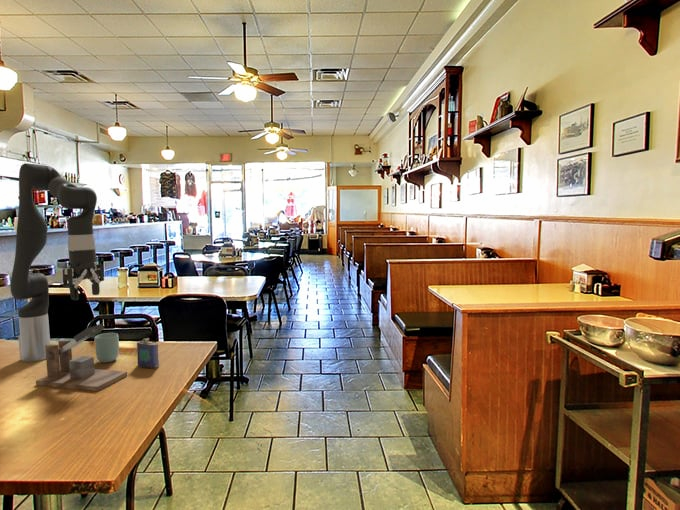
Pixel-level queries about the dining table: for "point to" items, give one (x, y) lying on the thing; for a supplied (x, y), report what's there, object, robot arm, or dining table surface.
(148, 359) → the flask
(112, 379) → the frame
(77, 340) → the lever
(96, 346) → the cup
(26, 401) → the dining table surface
